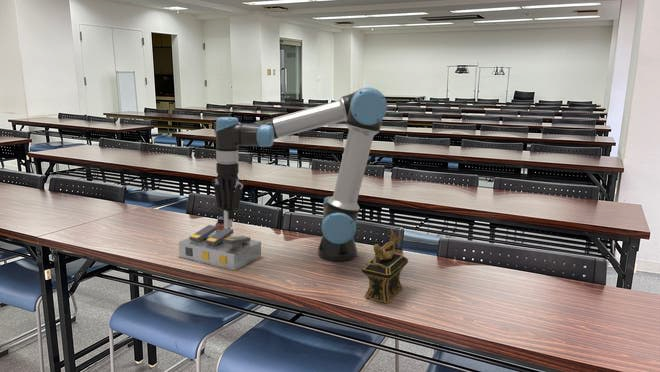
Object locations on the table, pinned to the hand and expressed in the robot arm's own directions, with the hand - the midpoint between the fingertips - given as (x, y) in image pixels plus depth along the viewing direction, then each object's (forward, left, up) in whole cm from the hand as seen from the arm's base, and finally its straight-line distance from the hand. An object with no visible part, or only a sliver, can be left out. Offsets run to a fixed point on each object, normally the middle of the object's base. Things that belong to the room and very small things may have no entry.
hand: (228, 227), depth 166 cm
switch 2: (+8, -4, -6) cm, 11 cm away
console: (+8, -4, -14) cm, 17 cm away
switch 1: (+16, -4, -6) cm, 17 cm away
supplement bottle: (+16, -16, -14) cm, 27 cm away
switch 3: (0, -4, -6) cm, 7 cm away
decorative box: (-58, -8, -14) cm, 60 cm away
